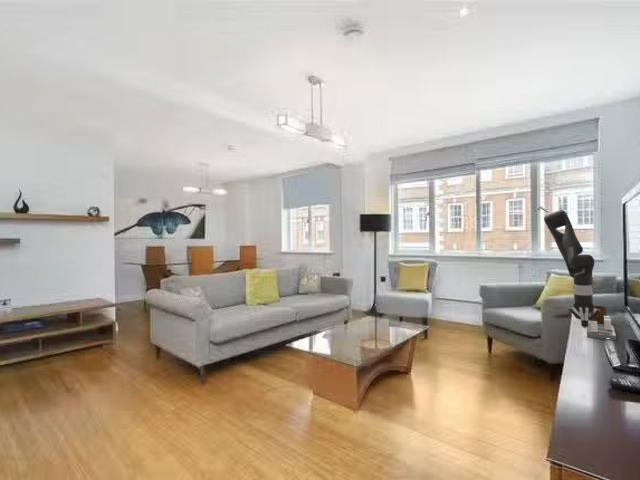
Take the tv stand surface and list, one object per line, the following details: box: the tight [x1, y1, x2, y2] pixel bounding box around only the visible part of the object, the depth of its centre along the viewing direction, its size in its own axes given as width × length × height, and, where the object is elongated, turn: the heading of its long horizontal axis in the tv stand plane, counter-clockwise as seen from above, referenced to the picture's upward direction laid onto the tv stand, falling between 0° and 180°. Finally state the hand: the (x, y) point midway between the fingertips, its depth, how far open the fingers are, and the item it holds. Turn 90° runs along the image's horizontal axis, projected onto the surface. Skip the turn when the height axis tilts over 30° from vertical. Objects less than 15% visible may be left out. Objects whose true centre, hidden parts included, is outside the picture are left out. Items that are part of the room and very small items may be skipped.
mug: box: [589, 305, 608, 325], centre depth 190 cm, size 12×8×9 cm, turn 144°
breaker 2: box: [604, 318, 612, 330], centre depth 171 cm, size 3×2×5 cm
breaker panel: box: [586, 322, 617, 341], centre depth 173 cm, size 24×11×2 cm, turn 141°
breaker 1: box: [590, 321, 598, 332], centre depth 169 cm, size 3×2×5 cm
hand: (585, 327), depth 171 cm, fingers closed
